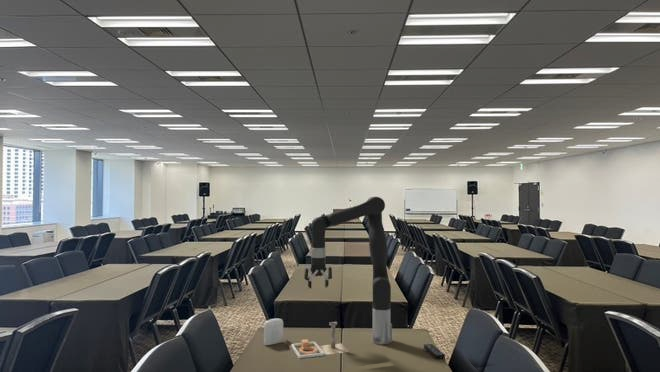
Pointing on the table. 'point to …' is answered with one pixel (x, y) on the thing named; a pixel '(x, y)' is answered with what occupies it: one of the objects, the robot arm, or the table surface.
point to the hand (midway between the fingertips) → (318, 287)
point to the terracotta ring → (307, 348)
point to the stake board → (334, 351)
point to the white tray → (308, 354)
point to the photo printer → (273, 331)
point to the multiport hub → (434, 351)
